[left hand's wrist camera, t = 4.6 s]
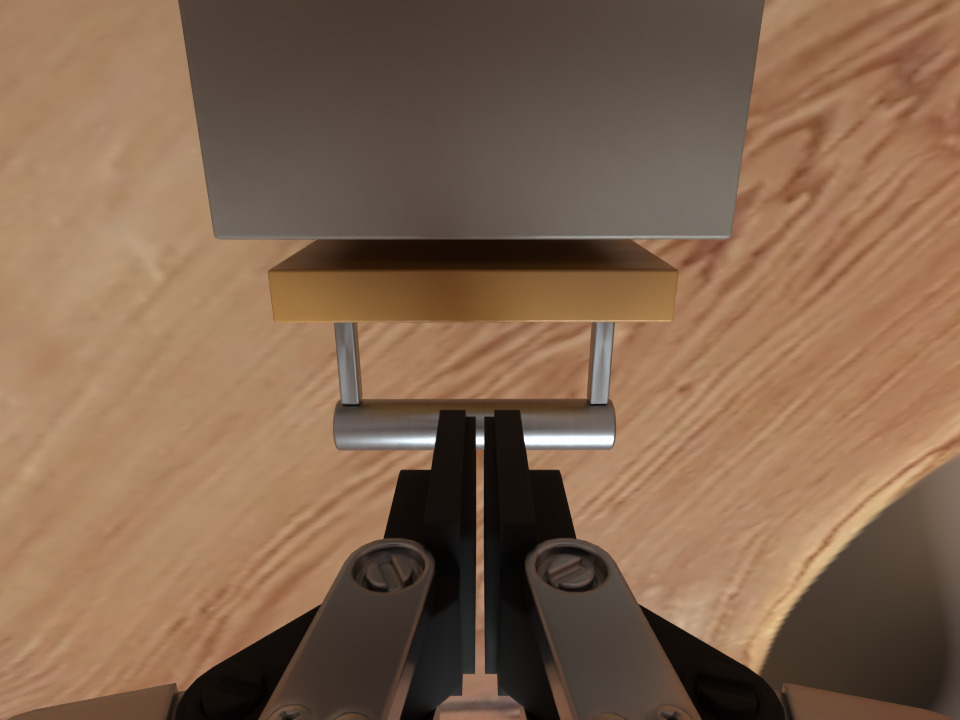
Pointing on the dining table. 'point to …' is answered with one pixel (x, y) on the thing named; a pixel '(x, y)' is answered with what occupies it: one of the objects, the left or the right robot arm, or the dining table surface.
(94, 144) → the dining table surface
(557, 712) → the left robot arm
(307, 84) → the cabinet
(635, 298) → the drawer
